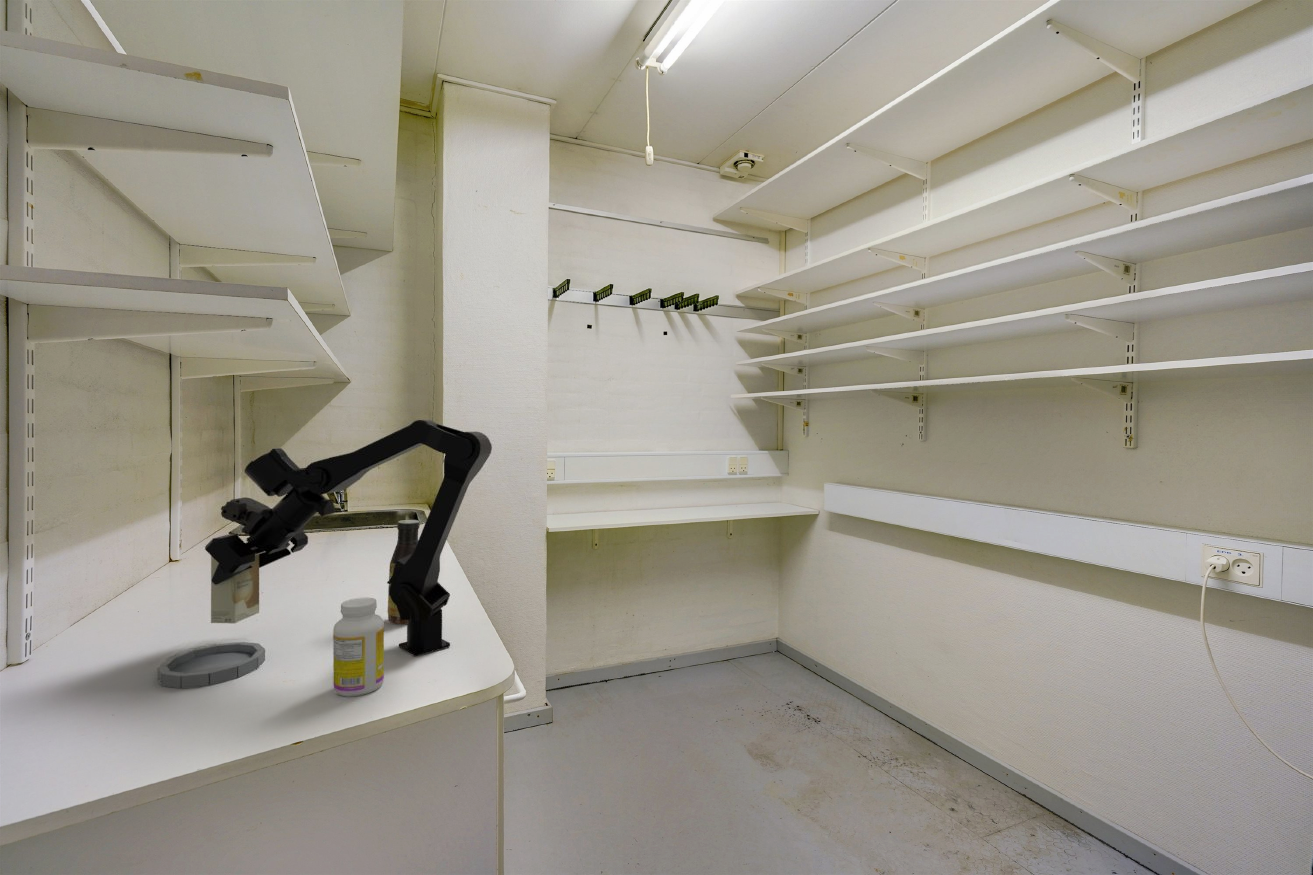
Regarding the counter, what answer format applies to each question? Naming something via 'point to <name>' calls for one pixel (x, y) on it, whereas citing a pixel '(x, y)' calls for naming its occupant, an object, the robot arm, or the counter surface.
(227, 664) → the round tray
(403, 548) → the sauce bottle
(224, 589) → the skincare box
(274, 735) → the counter surface
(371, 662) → the supplement bottle
